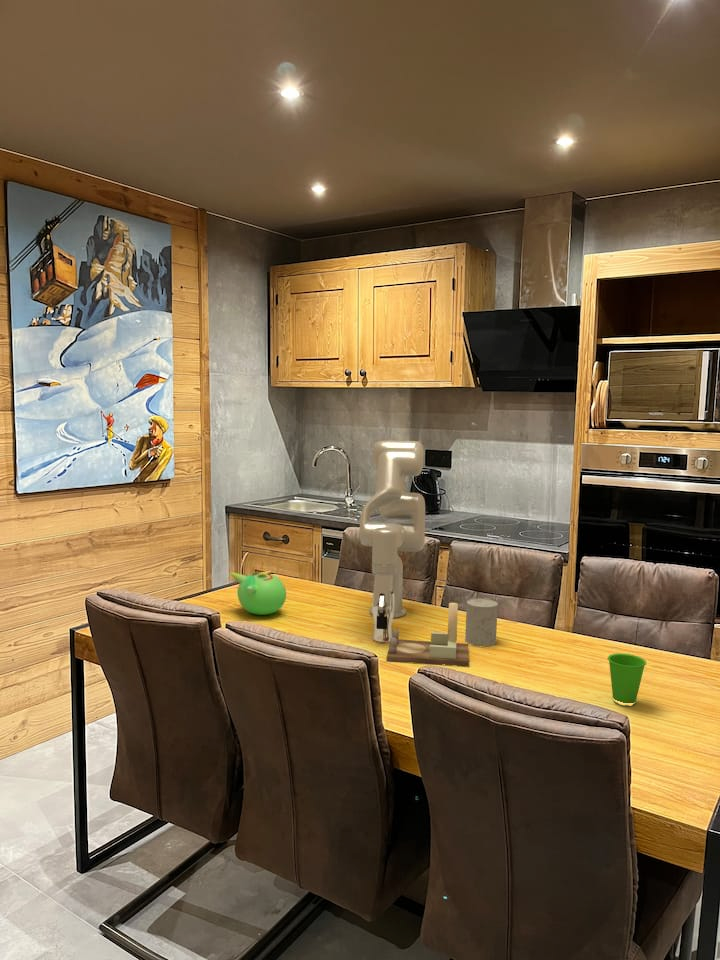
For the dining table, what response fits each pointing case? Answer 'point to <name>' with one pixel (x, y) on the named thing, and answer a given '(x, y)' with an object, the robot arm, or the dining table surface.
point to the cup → (625, 676)
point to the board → (422, 652)
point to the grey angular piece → (446, 637)
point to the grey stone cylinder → (481, 622)
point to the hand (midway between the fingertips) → (382, 624)
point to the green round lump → (260, 592)
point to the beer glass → (386, 634)
